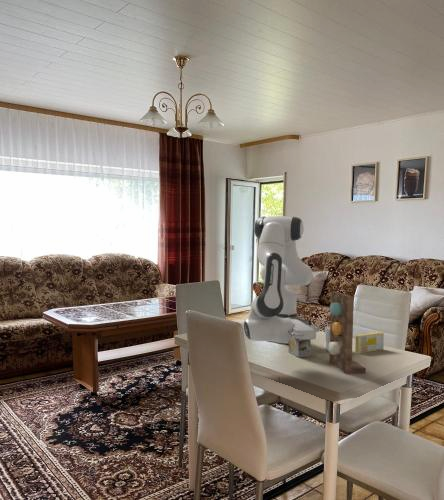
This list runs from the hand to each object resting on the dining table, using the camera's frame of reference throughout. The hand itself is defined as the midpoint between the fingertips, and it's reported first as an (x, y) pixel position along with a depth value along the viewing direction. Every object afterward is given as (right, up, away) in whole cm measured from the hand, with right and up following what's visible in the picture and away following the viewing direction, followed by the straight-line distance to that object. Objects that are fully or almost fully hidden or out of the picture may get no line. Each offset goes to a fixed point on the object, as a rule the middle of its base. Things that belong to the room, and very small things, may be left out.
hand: (317, 328), depth 173 cm
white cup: (+14, -15, +30) cm, 36 cm away
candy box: (+30, -16, +28) cm, 44 cm away
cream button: (+7, -11, +2) cm, 13 cm away
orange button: (+9, -3, +2) cm, 9 cm away
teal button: (+8, +5, +1) cm, 9 cm away
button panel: (+12, -16, +3) cm, 21 cm away
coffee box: (-4, -15, +20) cm, 26 cm away
